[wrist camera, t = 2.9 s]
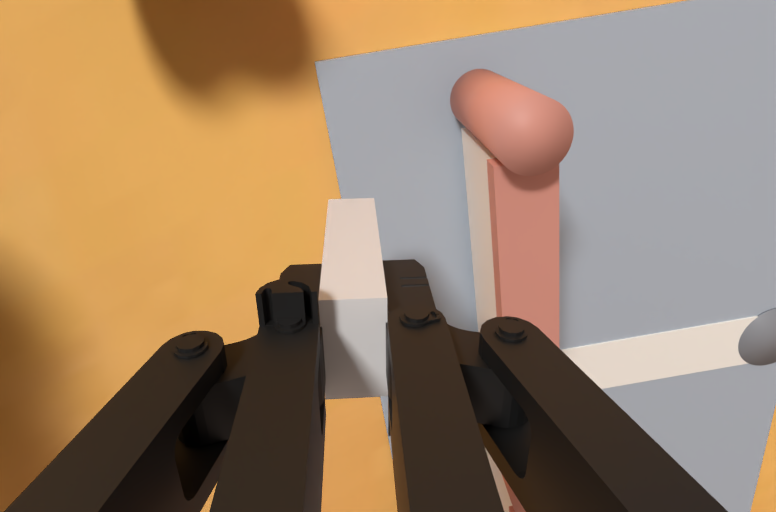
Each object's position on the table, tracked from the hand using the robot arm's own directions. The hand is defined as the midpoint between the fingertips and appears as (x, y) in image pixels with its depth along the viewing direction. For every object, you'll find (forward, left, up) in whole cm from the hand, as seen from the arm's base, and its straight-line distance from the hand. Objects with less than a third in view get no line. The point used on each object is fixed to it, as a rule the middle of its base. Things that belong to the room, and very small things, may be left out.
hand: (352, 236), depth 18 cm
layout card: (+11, -11, -6) cm, 16 cm away
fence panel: (+6, -3, -5) cm, 8 cm away
